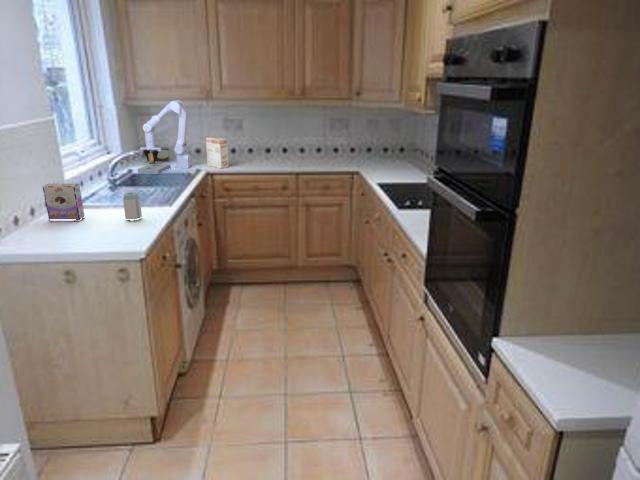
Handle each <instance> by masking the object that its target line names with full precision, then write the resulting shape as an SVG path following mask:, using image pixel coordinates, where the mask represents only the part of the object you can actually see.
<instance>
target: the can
mask: <svg viewBox="0 0 640 480" xmlns="http://www.w3.org/2000/svg"><path fill="white" fill-rule="evenodd" d="M123 195H124V196H123V197H122V202H123V210H124V217H125V220H126V219H137V218H140V217H142V218H143V214H142V205H141V199H140V195H139V194H138V193H137V192H127V193H124V194H123Z"/></svg>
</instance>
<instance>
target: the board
mask: <svg viewBox="0 0 640 480" xmlns="http://www.w3.org/2000/svg"><path fill="white" fill-rule="evenodd" d="M169 168H170V169H171V164H162V163H159V164H158V163H155V164H149V163H148V164H146V165H144V166H142V167H140V168H137V173H138V174H155V175H159V174H161V173H163V172H162V171H164V170H166V169H168V170H170V169H169ZM166 171H167V170H166ZM164 172H165V171H164Z"/></svg>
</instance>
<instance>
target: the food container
mask: <svg viewBox="0 0 640 480" xmlns="http://www.w3.org/2000/svg"><path fill="white" fill-rule="evenodd" d="M155 147H156V148H161V151H159V152H158V155H157V159H156V161H155V163H156V162H157V163H170V151H171V149H170V147H168V146H155Z"/></svg>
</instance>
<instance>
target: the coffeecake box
mask: <svg viewBox="0 0 640 480" xmlns="http://www.w3.org/2000/svg"><path fill="white" fill-rule="evenodd" d="M205 146H206V161H207V162H206V163H207V167H213V168H218V169H227V168H229V148H228V138H224V137H223V138H222V137H216V136H215V137H214V136H209V137H205Z"/></svg>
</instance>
